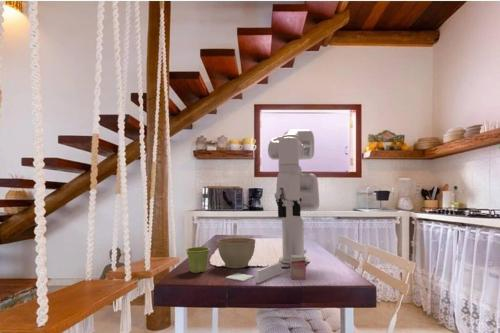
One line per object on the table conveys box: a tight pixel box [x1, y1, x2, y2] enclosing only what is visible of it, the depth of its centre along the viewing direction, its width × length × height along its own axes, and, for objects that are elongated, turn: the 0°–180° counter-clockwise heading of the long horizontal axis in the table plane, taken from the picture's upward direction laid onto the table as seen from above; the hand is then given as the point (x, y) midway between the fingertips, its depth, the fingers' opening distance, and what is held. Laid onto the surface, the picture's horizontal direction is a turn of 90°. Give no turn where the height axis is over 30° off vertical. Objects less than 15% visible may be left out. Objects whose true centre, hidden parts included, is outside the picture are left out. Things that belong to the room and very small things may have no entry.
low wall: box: [255, 261, 282, 284], centre depth 120 cm, size 16×1×4 cm, turn 146°
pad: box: [225, 272, 256, 282], centre depth 120 cm, size 7×8×1 cm
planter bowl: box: [216, 237, 256, 269], centre depth 138 cm, size 16×16×11 cm
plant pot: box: [185, 246, 211, 274], centre depth 130 cm, size 9×9×9 cm
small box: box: [289, 254, 307, 280], centre depth 119 cm, size 5×4×8 cm
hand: (289, 216), depth 121 cm, fingers open, 9 cm apart
